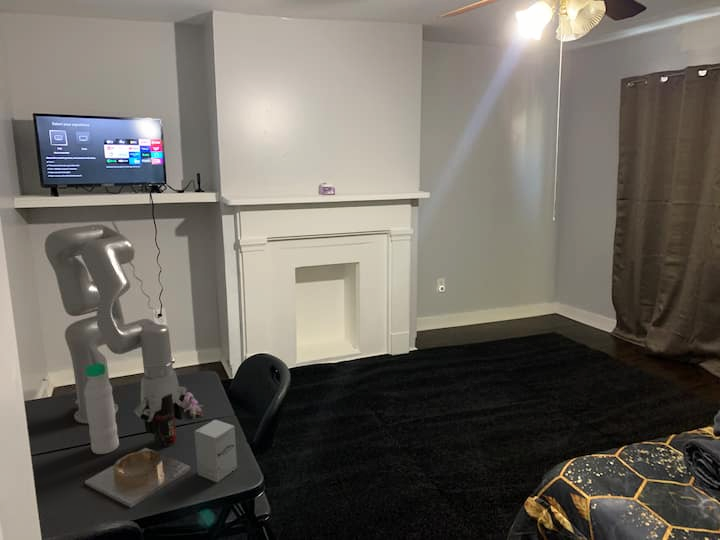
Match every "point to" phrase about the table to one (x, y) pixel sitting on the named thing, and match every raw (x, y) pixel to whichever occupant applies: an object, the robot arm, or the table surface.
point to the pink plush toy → (191, 405)
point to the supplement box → (215, 450)
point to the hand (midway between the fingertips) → (164, 425)
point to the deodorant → (165, 424)
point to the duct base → (140, 490)
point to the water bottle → (100, 411)
